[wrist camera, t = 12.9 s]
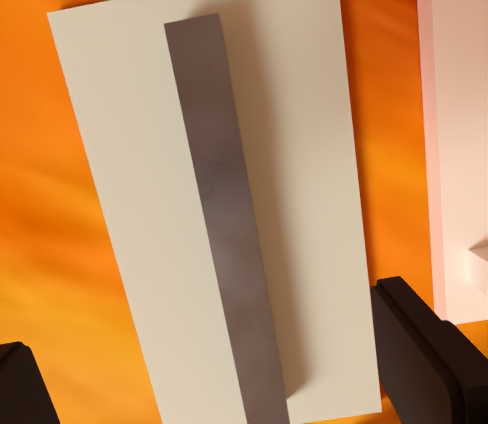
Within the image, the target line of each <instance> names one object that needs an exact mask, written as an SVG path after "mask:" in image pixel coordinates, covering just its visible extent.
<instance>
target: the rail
mask: <svg viewBox="0 0 488 424" xmlns="http://www.w3.org/2000/svg"><path fill="white" fill-rule="evenodd" d="M164 29H165V34H166V39H167V43H168V48H169V53H170V58H171V63H172V67H173V72H174V77H175V82H176V86H177V91H178V96H179V101H180V105H181V110H182V115H183V120H184V125H185V129H186V134H187V139H188V144H189V148H190V153H191V158H192V163H193V168H194V172H195V177H196V182H197V187H198V191H199V196H200V201H201V206H202V210H203V215H204V220H205V225H206V230H207V234H208V239H209V244H210V249H211V253H212V258H213V263H214V268H215V273H216V277H217V282H218V287H219V292H220V296H221V301H222V306H223V311H224V315H225V320H226V325H227V330H228V335H229V339H230V344H231V349H232V354H233V358H234V363H235V368H236V373H237V377H238V382H239V387H240V392H241V397H242V401H243V406H244V411H245V416H246V420H247V424H290V419H289V412H288V405H287V398H286V393H285V387H284V381H283V375H282V370H281V364H280V358H279V352H278V347H277V341H276V335H275V329H274V324H273V318H272V312H271V306H270V301H269V295H268V289H267V283H266V278H265V272H264V266H263V260H262V255H261V249H260V243H259V237H258V232H257V226H256V220H255V214H254V209H253V203H252V197H251V191H250V186H249V180H248V174H247V168H246V163H245V157H244V151H243V145H242V140H241V134H240V128H239V122H238V117H237V111H236V105H235V99H234V93H233V88H232V82H231V76H230V70H229V65H228V59H227V53H226V47H225V42H224V36H223V30H222V25H221V21H220V17H219V13H215V14H210V15H205V16H200V17H195V18H190V19H184V20H179V21H174V22H169V23H164Z"/></svg>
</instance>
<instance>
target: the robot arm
mask: <svg viewBox="0 0 488 424" xmlns="http://www.w3.org/2000/svg"><path fill="white" fill-rule="evenodd" d="M371 302H372V313H373V324H374V335H375V346H376V357H377V368H378V374H379V378H380V381H381V383H382V386H383V388H384V389H385V391H386V393H387V395H388V397H389V399H390V401H391V403H392V405H393V407H394V409H395V411H396V413H397V415H398V416H399V418H400V420H401V422H402V424H488V359H487V358H486V357H485V356H484V355H483V354H482V353H481V352H480V351H479V350H478V349H477V348H476V347H475V346H474V345H473V344H472V343H471V342H470V341H469V340H468V339H467V338H466V337H465V336H464V335H463V333H462V332H461V331H460V330H459V329H458V328H457V327H456V326H455V325H454V324H453V323H451V322H450V321H448V320H441V319H440V318H439V317H438V316H437V315H436V314H435V313H434V312H433V311H432V310H431V308H430V307H429V306H428V305H427V304H426V303H425V302H424V301H423V300H422V299H421V298H420V297H419V296H418V295H417V294H416V292H415V291H414V290H413V289H412V288H411V287H410V286H409V285H408V284H407V283H406V282H405V281H404V280H403V279H402V278H401V277H400V276H396V277H390V278H384V279H379V280H377V285H376V286H371ZM0 424H60V421H59V419H58V416H57V413H56V411H55V408H54V406H53V403H52V401H51V398H50V396H49V393H48V391H47V388H46V386H45V383H44V381H43V378H42V376H41V373H40V371H39V368H38V366H37V363H36V361H35V358H34V356H33V353H32V351H31V349H30V347H28V346H25V345H24V344H23V343H22V342H19V341H18V342H12V343H7V344H1V345H0Z"/></svg>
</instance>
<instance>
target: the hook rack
mask: <svg viewBox="0 0 488 424" xmlns="http://www.w3.org/2000/svg"><path fill="white" fill-rule="evenodd" d="M417 7H418V25H419V43H420V61H421V79H422V97H423V115H424V133H425V151H426V169H427V186H428V204H429V222H430V240H431V258H432V276H433V294H434V312H435V313H436V315H437V316H438V317H439V318H440V319H441V320H448V321H450V322H451V323H453V324H454V325H455V324H462V323H468V322H475V321H481V320H488V0H417Z"/></svg>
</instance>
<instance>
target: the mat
mask: <svg viewBox="0 0 488 424" xmlns="http://www.w3.org/2000/svg"><path fill="white" fill-rule="evenodd" d="M215 13H219V17H220V21H221V25H222V30H223V36H224V42H225V47H226V53H227V59H228V65H229V70H230V76H231V82H232V88H233V93H234V99H235V105H236V111H237V117H238V122H239V128H240V134H241V140H242V145H243V151H244V157H245V163H246V168H247V174H248V180H249V186H250V191H251V197H252V203H253V209H254V214H255V220H256V226H257V232H258V237H259V243H260V249H261V255H262V260H263V266H264V272H265V278H266V283H267V289H268V295H269V301H270V306H271V312H272V318H273V324H274V329H275V335H276V341H277V347H278V352H279V358H280V364H281V370H282V375H283V381H284V387H285V393H286V398H287V405H288V412H289V419H290V424H302V423H309V422H316V421H323V420H329V419H336V418H343V417H350V416H357V415H364V414H371V413H378V412H382V407H381V397H380V387H379V377H378V368H377V358H376V348H375V338H374V329H373V319H372V309H371V299H370V290H369V280H368V270H367V260H366V251H365V241H364V231H363V221H362V212H361V202H360V192H359V182H358V173H357V163H356V153H355V144H354V134H353V124H352V114H351V105H350V95H349V85H348V75H347V66H346V56H345V46H344V36H343V27H342V17H341V7H340V0H109V1H104V2H99V3H94V4H89V5H84V6H79V7H74V8H69V9H64V10H59V11H54V12H49V13H47V17H48V20H49V24H50V27H51V31H52V34H53V38H54V41H55V45H56V48H57V52H58V55H59V59H60V62H61V66H62V70H63V73H64V77H65V80H66V84H67V87H68V91H69V94H70V98H71V101H72V105H73V108H74V112H75V115H76V119H77V123H78V126H79V130H80V133H81V137H82V140H83V144H84V147H85V151H86V154H87V158H88V161H89V165H90V169H91V172H92V176H93V179H94V183H95V186H96V190H97V193H98V197H99V200H100V204H101V207H102V211H103V214H104V218H105V222H106V225H107V229H108V232H109V236H110V239H111V243H112V246H113V250H114V253H115V257H116V260H117V264H118V267H119V271H120V275H121V278H122V282H123V285H124V289H125V292H126V296H127V299H128V303H129V306H130V310H131V313H132V317H133V320H134V324H135V328H136V331H137V335H138V338H139V342H140V345H141V349H142V352H143V356H144V359H145V363H146V366H147V370H148V373H149V377H150V381H151V384H152V388H153V391H154V395H155V398H156V402H157V405H158V409H159V412H160V416H161V419H162V423H163V424H247V420H246V416H245V411H244V406H243V401H242V397H241V392H240V387H239V382H238V377H237V373H236V368H235V363H234V358H233V354H232V349H231V344H230V339H229V335H228V330H227V325H226V320H225V315H224V311H223V306H222V301H221V296H220V292H219V287H218V282H217V277H216V273H215V268H214V263H213V258H212V253H211V249H210V244H209V239H208V234H207V230H206V225H205V220H204V215H203V210H202V206H201V201H200V196H199V191H198V187H197V182H196V177H195V172H194V168H193V163H192V158H191V153H190V148H189V144H188V139H187V134H186V129H185V125H184V120H183V115H182V110H181V105H180V101H179V96H178V91H177V86H176V82H175V77H174V72H173V67H172V63H171V58H170V53H169V48H168V43H167V39H166V34H165V29H164V23H169V22H174V21H179V20H184V19H190V18H195V17H200V16H205V15H210V14H215Z"/></svg>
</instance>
